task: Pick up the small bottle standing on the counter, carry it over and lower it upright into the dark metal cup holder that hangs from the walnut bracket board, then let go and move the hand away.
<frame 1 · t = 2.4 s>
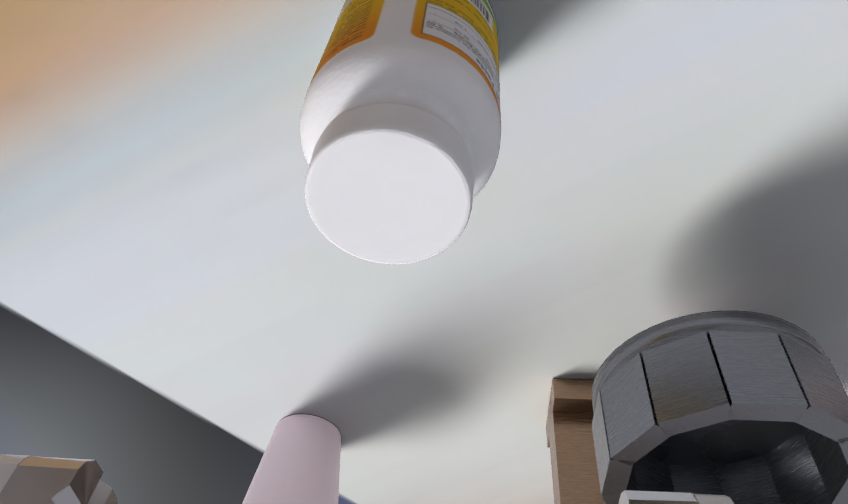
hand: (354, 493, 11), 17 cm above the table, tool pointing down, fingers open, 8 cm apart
supplement bottle: (419, 33, 24), on the table
smoothie: (309, 431, 39), on the table
cup bracket: (678, 300, 31), on the table
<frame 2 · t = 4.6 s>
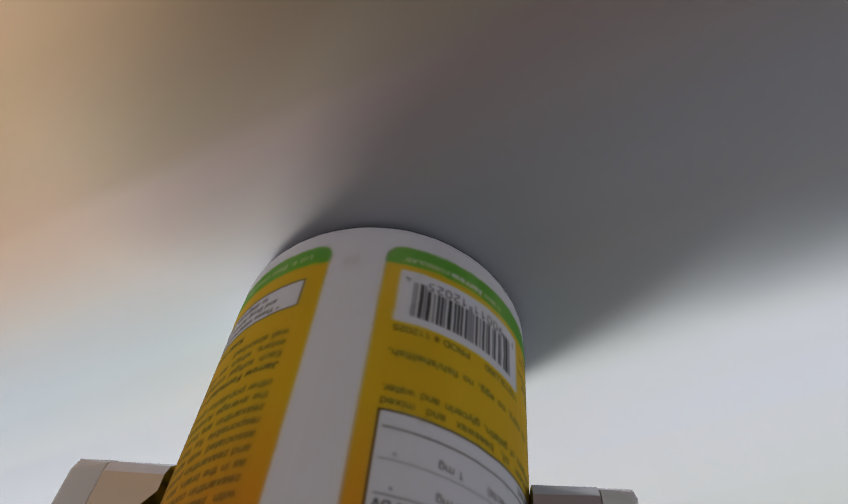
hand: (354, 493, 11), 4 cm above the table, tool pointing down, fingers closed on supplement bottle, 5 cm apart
supplement bottle: (386, 321, 14), on the table, touching gripper
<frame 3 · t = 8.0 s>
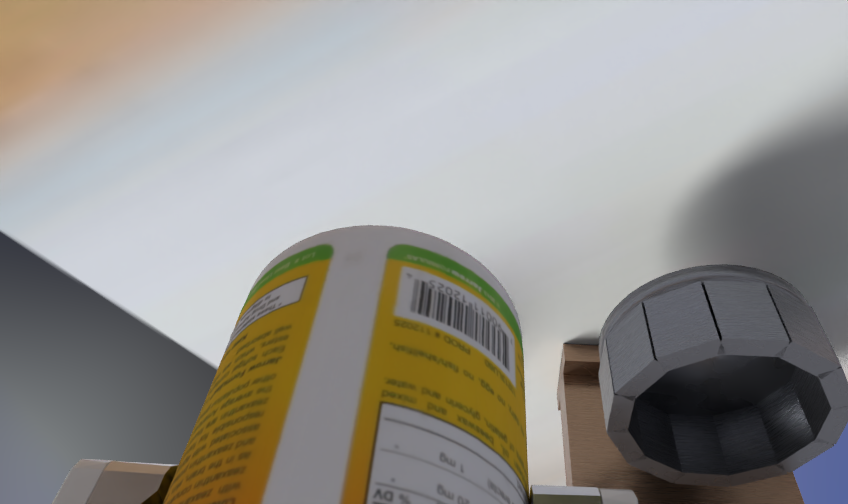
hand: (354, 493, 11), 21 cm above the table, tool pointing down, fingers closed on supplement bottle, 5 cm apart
supplement bottle: (386, 318, 14), point 17 cm above the table, touching gripper
cup bracket: (679, 267, 33), on the table
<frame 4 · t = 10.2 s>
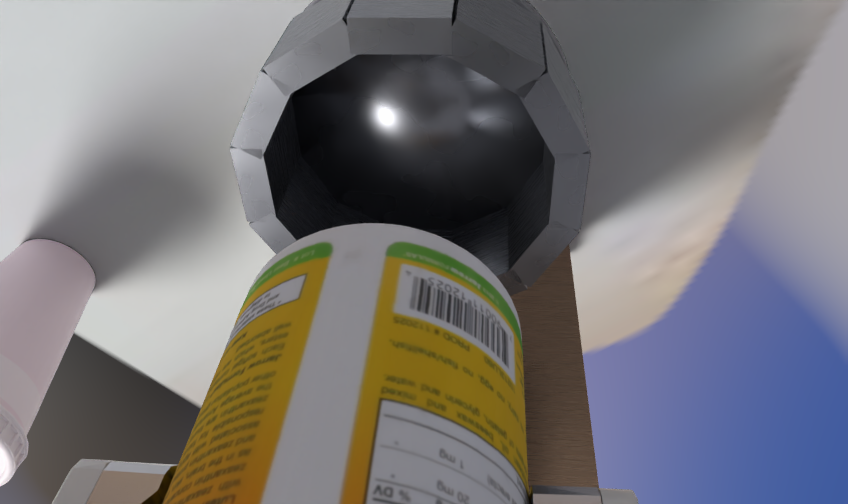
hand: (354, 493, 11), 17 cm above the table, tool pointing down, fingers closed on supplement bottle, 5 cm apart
supplement bottle: (386, 316, 14), point 13 cm above the table, touching gripper
smoothie: (57, 267, 33), on the table
cup bracket: (434, 43, 24), on the table
when the fingers open (11 cm above the table, at t = 11.8 s): supplement bottle drops 1 cm, resting on cup bracket.
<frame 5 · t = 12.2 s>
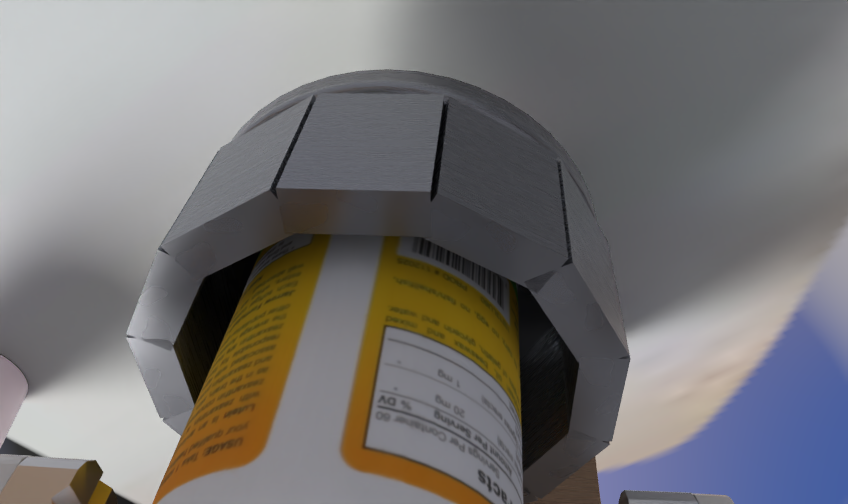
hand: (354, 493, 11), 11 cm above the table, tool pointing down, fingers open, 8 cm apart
supplement bottle: (391, 272, 15), point 6 cm above the table, touching cup bracket
cup bracket: (420, 139, 20), on the table
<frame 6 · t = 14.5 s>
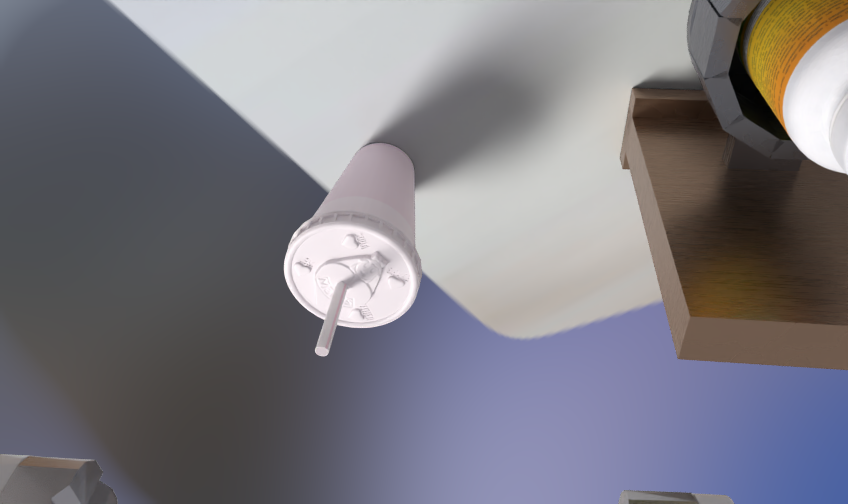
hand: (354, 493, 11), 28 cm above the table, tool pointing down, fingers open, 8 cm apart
supplement bottle: (805, 18, 27), point 6 cm above the table, touching cup bracket
smoothie: (383, 169, 40), on the table
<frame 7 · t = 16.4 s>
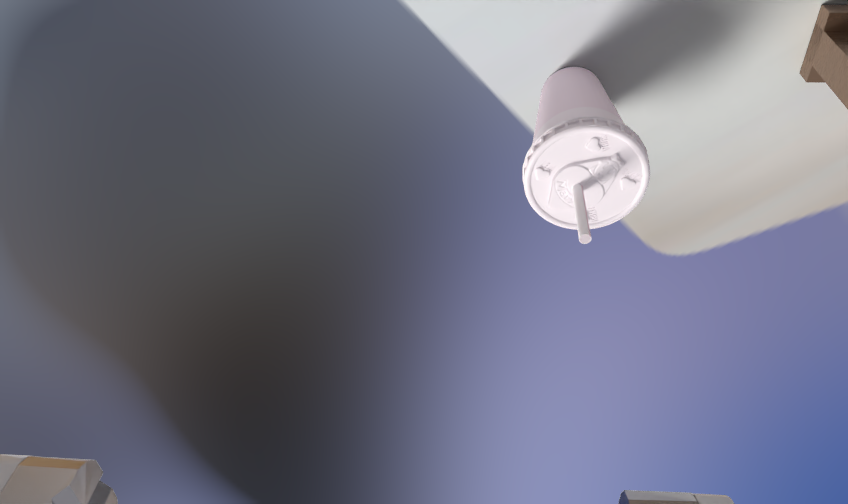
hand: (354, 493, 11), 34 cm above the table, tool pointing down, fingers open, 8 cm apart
smoothie: (571, 93, 43), on the table
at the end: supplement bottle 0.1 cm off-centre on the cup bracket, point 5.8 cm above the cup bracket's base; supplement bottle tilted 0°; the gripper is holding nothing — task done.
